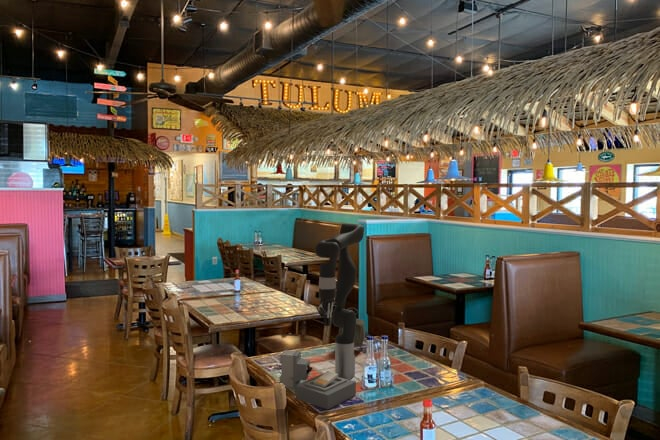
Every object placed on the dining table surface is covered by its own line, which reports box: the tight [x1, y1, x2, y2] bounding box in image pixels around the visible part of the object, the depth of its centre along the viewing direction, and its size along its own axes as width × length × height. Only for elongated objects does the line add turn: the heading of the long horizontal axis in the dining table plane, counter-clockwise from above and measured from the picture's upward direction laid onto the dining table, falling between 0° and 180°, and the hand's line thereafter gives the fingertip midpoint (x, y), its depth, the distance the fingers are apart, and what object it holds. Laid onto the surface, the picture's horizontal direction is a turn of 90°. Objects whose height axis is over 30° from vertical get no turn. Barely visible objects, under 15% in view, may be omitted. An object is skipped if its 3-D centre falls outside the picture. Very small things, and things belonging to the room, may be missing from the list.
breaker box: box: [295, 372, 357, 410], centre depth 222 cm, size 20×18×7 cm
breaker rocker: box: [314, 370, 338, 387], centre depth 222 cm, size 10×6×1 cm, turn 142°
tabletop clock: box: [338, 307, 366, 351], centre depth 290 cm, size 14×9×25 cm, turn 79°
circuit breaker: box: [279, 349, 313, 389], centre depth 236 cm, size 8×14×15 cm, turn 78°
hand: (327, 325), depth 223 cm, fingers closed
